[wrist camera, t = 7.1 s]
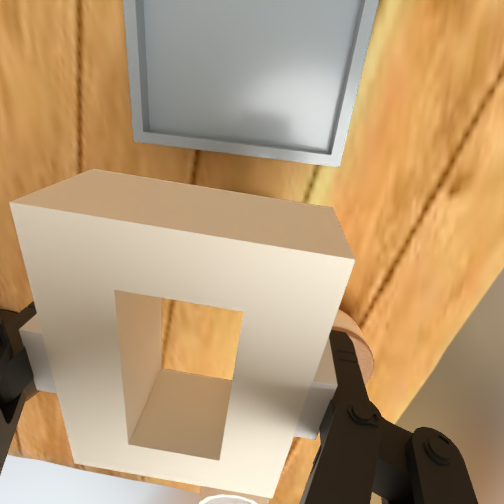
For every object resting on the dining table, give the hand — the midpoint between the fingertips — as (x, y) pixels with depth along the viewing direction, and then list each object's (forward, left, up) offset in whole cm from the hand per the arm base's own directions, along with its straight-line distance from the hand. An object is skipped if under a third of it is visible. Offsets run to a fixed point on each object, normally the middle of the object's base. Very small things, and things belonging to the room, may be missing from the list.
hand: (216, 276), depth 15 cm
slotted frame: (0, 0, +3) cm, 3 cm away
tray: (-2, +13, -20) cm, 24 cm away
